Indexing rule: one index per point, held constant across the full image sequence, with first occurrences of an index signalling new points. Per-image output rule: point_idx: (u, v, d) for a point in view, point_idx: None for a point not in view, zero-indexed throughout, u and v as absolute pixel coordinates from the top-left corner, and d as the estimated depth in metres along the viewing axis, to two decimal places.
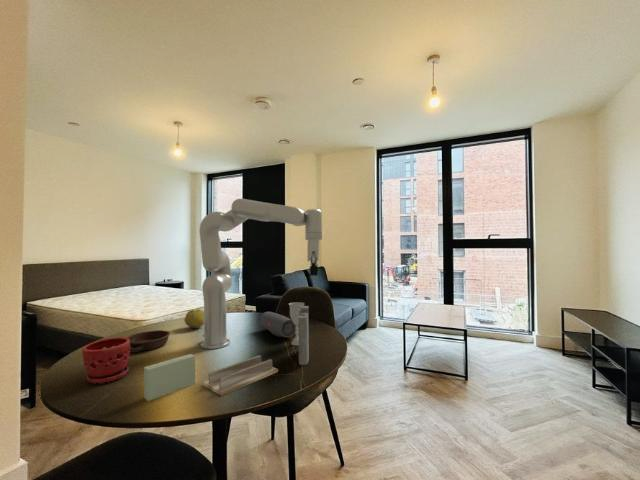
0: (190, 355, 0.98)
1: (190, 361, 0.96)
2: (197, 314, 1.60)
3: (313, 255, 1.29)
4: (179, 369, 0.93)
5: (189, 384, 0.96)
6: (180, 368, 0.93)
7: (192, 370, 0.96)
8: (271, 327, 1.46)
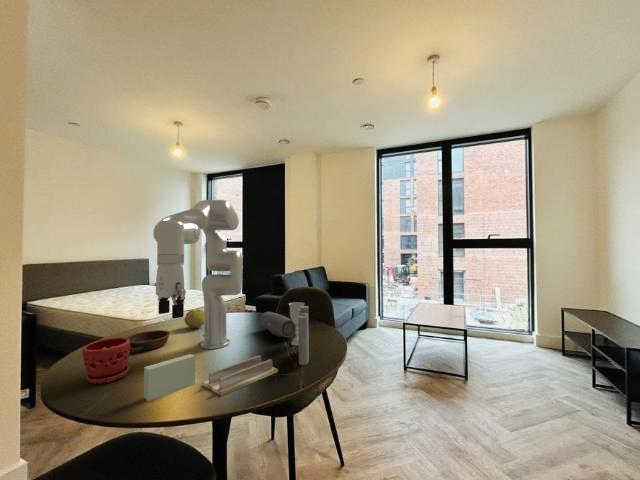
0: (190, 355, 0.98)
1: (190, 361, 0.96)
2: (197, 314, 1.60)
3: (182, 288, 0.88)
4: (179, 369, 0.93)
5: (189, 384, 0.96)
6: (180, 368, 0.93)
7: (192, 370, 0.96)
8: (271, 327, 1.46)
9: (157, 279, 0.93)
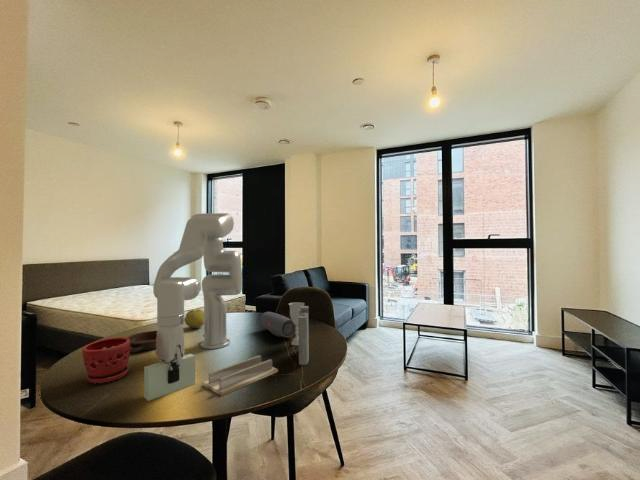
0: (190, 355, 0.98)
1: (190, 360, 0.96)
2: (197, 314, 1.60)
3: (180, 358, 0.89)
4: (179, 369, 0.93)
5: (189, 383, 0.96)
6: (180, 368, 0.93)
7: (192, 370, 0.96)
8: (271, 327, 1.46)
9: (157, 339, 0.93)
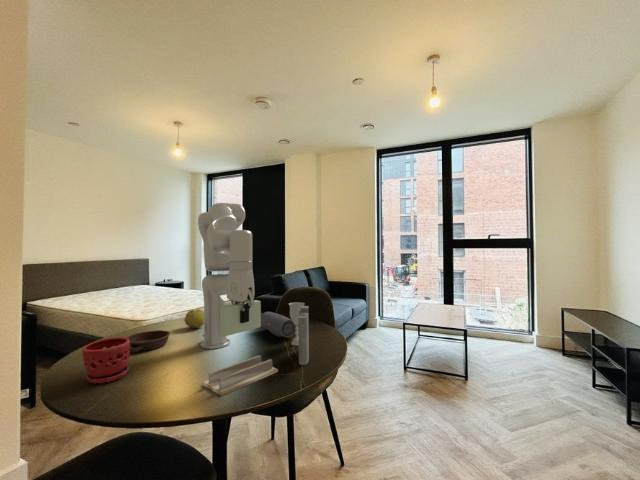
0: (256, 300, 1.06)
1: (256, 305, 1.04)
2: (197, 314, 1.60)
3: (252, 299, 0.97)
4: None
5: (256, 326, 1.04)
6: (249, 310, 1.02)
7: (258, 314, 1.05)
8: (271, 327, 1.46)
9: (228, 284, 1.01)
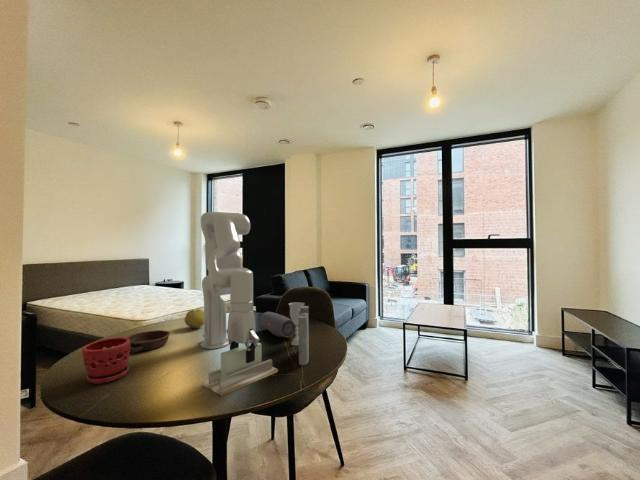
0: None
1: (257, 348, 1.04)
2: (197, 314, 1.60)
3: (256, 336, 0.96)
4: None
5: None
6: None
7: (259, 357, 1.04)
8: (271, 327, 1.46)
9: (229, 324, 1.01)
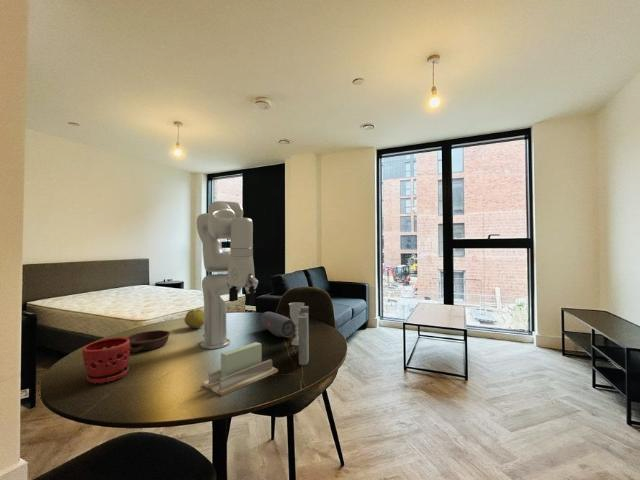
0: (256, 343, 1.06)
1: (257, 348, 1.04)
2: (197, 314, 1.60)
3: (255, 279, 0.99)
4: (249, 356, 1.01)
5: None
6: (250, 355, 1.01)
7: (259, 357, 1.04)
8: (271, 327, 1.46)
9: (229, 270, 1.04)
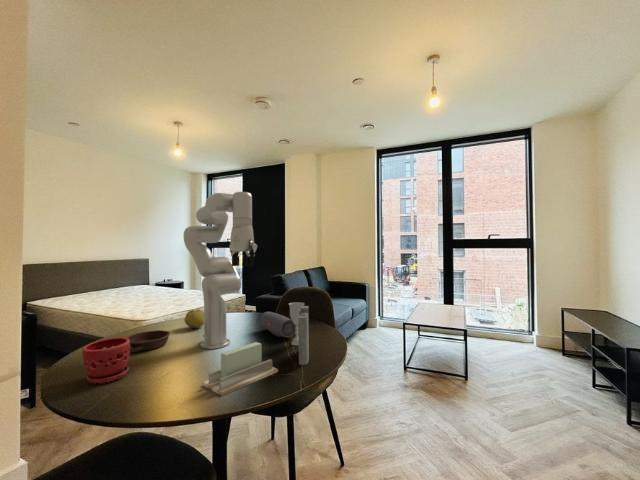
0: (256, 343, 1.06)
1: (257, 348, 1.04)
2: (197, 314, 1.60)
3: (254, 243, 1.15)
4: (249, 356, 1.01)
5: None
6: (250, 355, 1.01)
7: (259, 357, 1.04)
8: (271, 327, 1.46)
9: (232, 238, 1.20)
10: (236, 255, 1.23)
